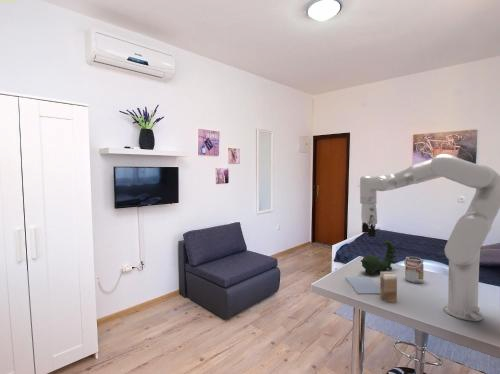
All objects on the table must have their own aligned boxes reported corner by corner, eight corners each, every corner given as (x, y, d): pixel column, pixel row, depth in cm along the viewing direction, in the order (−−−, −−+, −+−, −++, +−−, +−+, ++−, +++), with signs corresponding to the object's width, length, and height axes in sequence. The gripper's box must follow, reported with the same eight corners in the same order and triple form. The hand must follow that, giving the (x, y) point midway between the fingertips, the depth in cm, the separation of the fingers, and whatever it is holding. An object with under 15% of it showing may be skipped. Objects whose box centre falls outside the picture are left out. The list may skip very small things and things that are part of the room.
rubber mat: (386, 294, 128) (386, 292, 128) (358, 294, 128) (358, 293, 128) (369, 278, 148) (369, 276, 148) (345, 278, 148) (345, 277, 148)
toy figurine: (384, 269, 165) (353, 272, 155) (386, 238, 165) (355, 239, 155) (398, 274, 156) (366, 278, 146) (400, 242, 156) (368, 243, 146)
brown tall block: (396, 302, 120) (396, 275, 119) (385, 302, 120) (385, 275, 120) (391, 297, 125) (391, 271, 124) (380, 297, 125) (380, 271, 125)
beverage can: (419, 286, 136) (419, 262, 136) (401, 281, 143) (401, 258, 142) (426, 281, 142) (426, 258, 142) (408, 276, 149) (408, 255, 148)
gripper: (382, 202, 126) (382, 238, 127) (370, 199, 143) (370, 231, 144) (365, 202, 127) (366, 238, 128) (355, 199, 144) (355, 231, 145)
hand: (368, 234), depth 136 cm, fingers open, 9 cm apart
